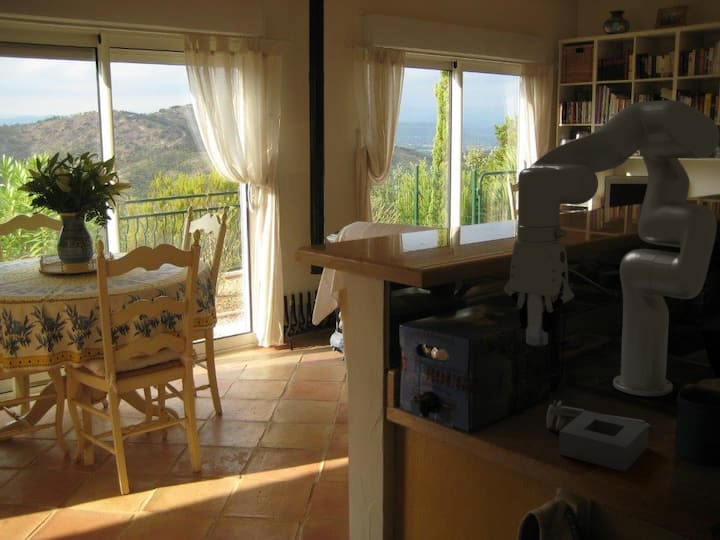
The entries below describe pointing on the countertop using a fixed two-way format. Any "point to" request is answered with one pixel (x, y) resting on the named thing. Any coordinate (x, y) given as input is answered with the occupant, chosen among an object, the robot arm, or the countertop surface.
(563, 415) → the caliper
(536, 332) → the steel pin
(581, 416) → the bore block
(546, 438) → the countertop surface
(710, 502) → the countertop surface
